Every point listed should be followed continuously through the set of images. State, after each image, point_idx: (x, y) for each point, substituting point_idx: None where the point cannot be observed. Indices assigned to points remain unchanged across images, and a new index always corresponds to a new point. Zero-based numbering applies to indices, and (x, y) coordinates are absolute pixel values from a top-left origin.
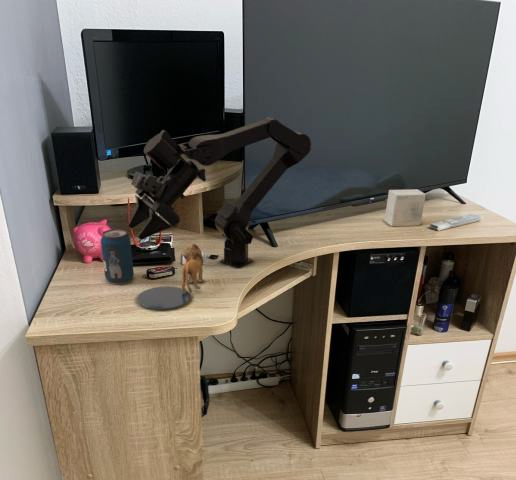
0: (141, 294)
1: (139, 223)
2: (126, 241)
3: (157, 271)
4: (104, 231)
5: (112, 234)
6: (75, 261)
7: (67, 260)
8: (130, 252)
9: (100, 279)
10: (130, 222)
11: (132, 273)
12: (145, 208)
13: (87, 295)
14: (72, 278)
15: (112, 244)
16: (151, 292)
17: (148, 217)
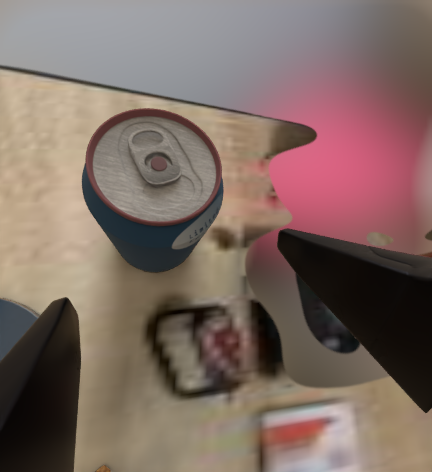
0: (2, 307)
1: (308, 286)
2: (111, 230)
3: (209, 337)
4: (188, 120)
5: (144, 152)
6: (272, 143)
7: (277, 130)
8: (138, 256)
9: None
10: (293, 236)
11: (141, 268)
12: (429, 338)
13: (63, 164)
14: None
15: (84, 166)
16: (9, 340)
17: (363, 345)
